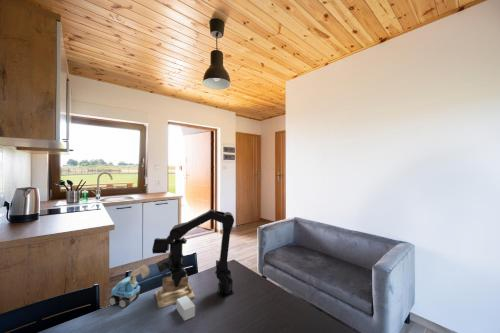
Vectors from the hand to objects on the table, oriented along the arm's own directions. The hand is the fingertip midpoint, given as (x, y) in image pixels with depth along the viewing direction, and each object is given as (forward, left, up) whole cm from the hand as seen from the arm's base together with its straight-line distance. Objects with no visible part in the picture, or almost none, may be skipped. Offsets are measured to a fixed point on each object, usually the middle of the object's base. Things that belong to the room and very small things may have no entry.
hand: (175, 284), depth 103 cm
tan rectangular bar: (0, 0, -1) cm, 1 cm away
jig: (0, 0, -6) cm, 6 cm away
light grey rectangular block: (-2, +14, -6) cm, 15 cm away
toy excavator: (+19, -4, -6) cm, 20 cm away
